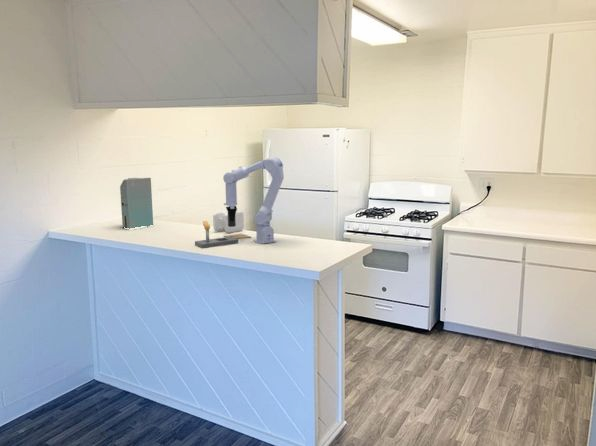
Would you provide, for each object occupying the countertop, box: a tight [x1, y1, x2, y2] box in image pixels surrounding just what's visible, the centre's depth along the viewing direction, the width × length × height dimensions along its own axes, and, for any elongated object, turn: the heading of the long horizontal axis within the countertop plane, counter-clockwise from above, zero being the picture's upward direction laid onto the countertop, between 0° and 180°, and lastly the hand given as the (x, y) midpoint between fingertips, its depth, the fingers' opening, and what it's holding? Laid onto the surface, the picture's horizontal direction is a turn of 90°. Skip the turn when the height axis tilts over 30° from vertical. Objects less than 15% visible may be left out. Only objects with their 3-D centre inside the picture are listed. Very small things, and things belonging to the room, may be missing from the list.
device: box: [119, 177, 154, 229], centre depth 296 cm, size 16×8×30 cm, turn 141°
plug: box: [228, 214, 236, 227], centre depth 261 cm, size 4×4×8 cm
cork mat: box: [223, 233, 252, 240], centre depth 268 cm, size 11×11×1 cm
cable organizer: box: [212, 210, 245, 234], centre depth 284 cm, size 15×11×12 cm
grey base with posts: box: [194, 229, 239, 249], centre depth 250 cm, size 9×20×8 cm, turn 125°
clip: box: [202, 220, 211, 230], centre depth 252 cm, size 13×3×2 cm, turn 15°
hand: (231, 220), depth 262 cm, fingers closed on plug, 4 cm apart
